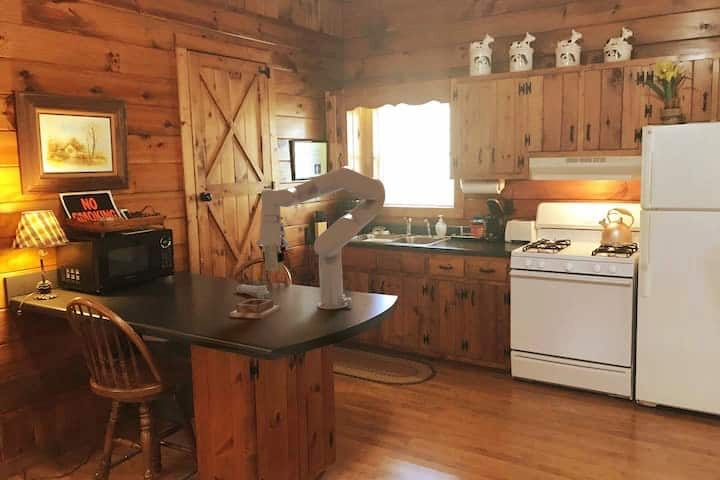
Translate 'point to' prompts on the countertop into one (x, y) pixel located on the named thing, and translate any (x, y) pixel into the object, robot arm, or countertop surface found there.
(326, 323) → the countertop surface
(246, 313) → the socket stand
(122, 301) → the countertop surface
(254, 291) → the white elongated piece
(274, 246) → the skincare box
